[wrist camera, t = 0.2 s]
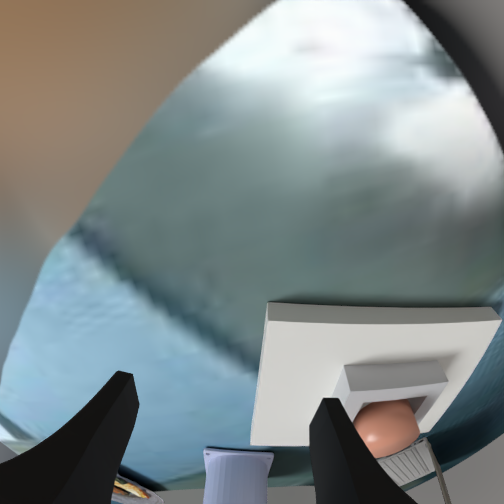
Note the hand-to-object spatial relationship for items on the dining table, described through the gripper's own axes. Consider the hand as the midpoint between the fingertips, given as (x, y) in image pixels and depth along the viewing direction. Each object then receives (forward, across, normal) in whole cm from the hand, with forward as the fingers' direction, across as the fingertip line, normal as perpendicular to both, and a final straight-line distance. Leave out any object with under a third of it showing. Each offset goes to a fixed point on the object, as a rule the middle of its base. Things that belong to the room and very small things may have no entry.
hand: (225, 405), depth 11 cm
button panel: (+10, -12, +9) cm, 18 cm away
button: (+6, -12, +9) cm, 17 cm away
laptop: (+10, -28, +32) cm, 44 cm away
